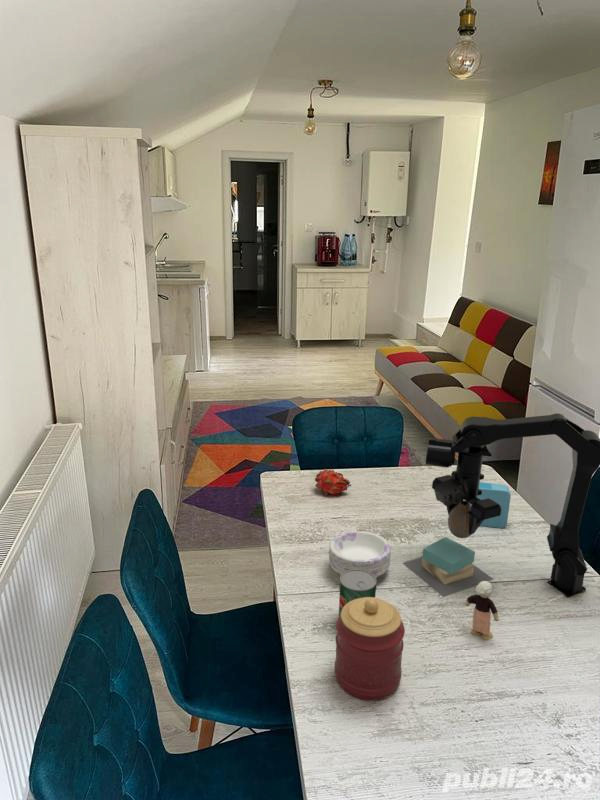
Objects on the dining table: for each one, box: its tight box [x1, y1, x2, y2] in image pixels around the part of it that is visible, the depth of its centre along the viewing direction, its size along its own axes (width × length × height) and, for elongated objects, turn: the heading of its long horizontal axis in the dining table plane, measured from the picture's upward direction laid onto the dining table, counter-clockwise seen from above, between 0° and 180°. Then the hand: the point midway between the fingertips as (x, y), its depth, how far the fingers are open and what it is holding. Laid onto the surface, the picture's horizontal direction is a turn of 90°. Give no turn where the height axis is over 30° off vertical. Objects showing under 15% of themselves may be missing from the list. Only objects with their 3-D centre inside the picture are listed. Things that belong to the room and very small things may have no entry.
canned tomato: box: [338, 569, 377, 616], centre depth 133 cm, size 8×8×11 cm
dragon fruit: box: [314, 468, 352, 497], centre depth 195 cm, size 8×8×12 cm
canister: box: [334, 597, 406, 701], centre depth 116 cm, size 13×13×18 cm
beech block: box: [421, 555, 475, 585], centre depth 153 cm, size 9×9×3 cm
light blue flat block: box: [470, 481, 512, 529], centre depth 176 cm, size 12×4×12 cm, turn 79°
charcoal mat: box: [402, 556, 494, 598], centre depth 153 cm, size 16×16×1 cm
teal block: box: [421, 536, 476, 575], centre depth 152 cm, size 9×9×3 cm
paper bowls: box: [328, 530, 392, 579], centre depth 152 cm, size 15×15×8 cm
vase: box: [447, 500, 472, 539], centre depth 150 cm, size 7×7×9 cm
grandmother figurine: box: [464, 581, 500, 641], centre depth 130 cm, size 8×4×13 cm, turn 59°
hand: (461, 527), depth 150 cm, fingers closed on vase, 7 cm apart
